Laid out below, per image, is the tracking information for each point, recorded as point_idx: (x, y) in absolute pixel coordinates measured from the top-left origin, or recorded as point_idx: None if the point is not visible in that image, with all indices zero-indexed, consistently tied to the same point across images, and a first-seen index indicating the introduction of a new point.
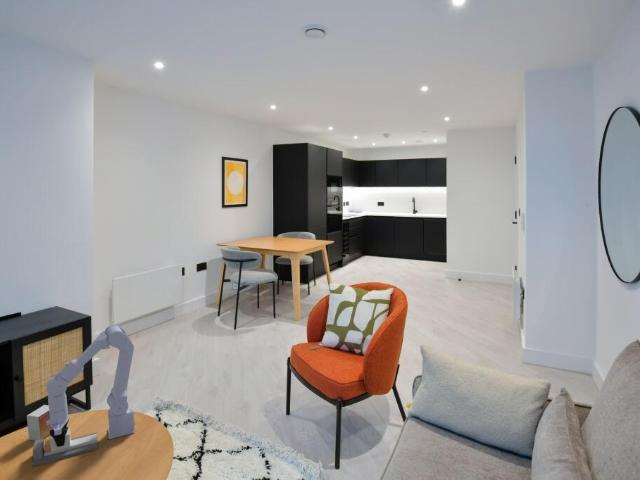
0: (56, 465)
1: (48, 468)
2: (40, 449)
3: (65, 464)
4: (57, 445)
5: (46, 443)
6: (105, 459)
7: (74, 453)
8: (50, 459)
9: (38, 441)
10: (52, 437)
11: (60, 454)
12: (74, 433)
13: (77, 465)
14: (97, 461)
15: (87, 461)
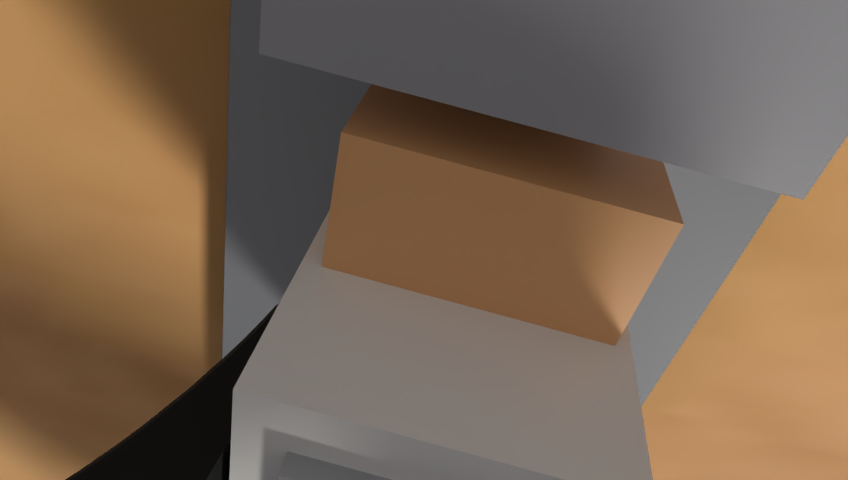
0: (104, 120)
1: (70, 5)
2: (277, 7)
3: (79, 213)
4: (259, 331)
5: (443, 204)
6: (20, 468)
7: (224, 353)
8: (233, 87)
9: (802, 37)
10: (303, 447)
11: (284, 235)
12: (806, 465)
13: (6, 299)
14: (12, 426)
15: (46, 378)
